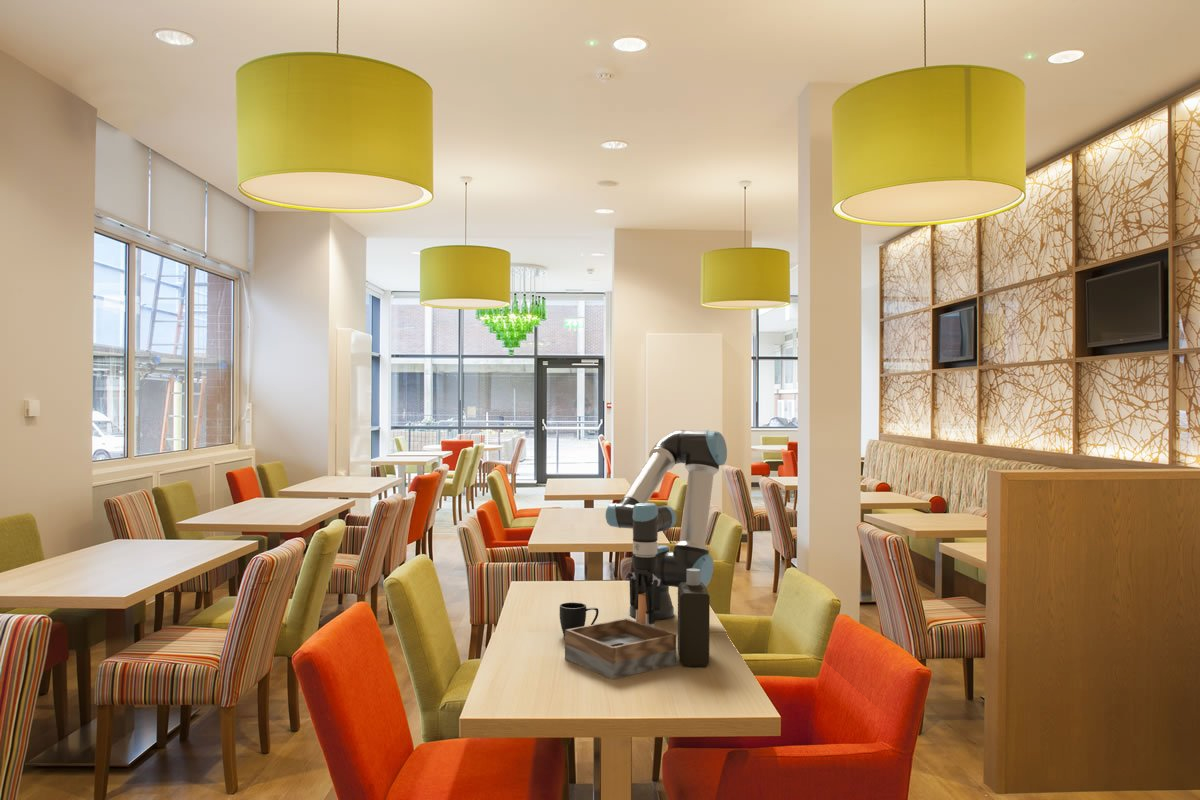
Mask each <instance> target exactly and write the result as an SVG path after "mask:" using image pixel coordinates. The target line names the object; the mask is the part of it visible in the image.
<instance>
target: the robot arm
mask: <svg viewBox="0 0 1200 800" xmlns="http://www.w3.org/2000/svg"><path fill="white" fill-rule="evenodd" d="M648 457H649V458H648V460H647V461H646V463H645V465H644V466H643V467H642V469H641V471H639V473H638V475H637V476H636V477H635V479H634V481H633V483H631V485H630V486H629V488H628V490H627V491H626V492H625V494H624V496H623V497H622V499H621V500H620V501H619V503H618V502H615V503H610V504H608V505H607V508H606V511H605V520H606V524H607V525H608V526H610V527H613V528H619V529H630V530H631V529H632V554H633V555H632V568H633V569H634V572H629V573H628V575H627V577H628V579H629V580H628V581H629V605H630V606H629V615H630V616H631V617H633V618H634V619H635V621H636V622H638V594H642V593H645V595H646V603H647V612H646V625H648V626H651V627H654V628H655V623H656V620H665V619H666V620H667V619H670V618H672V617H674V615H675V613H674V612H675V609H674V606H673V601H672V598H671V594H670V587H673V588H678V585H679V584H680V583H681V582H687V569H690V568H691V569H700V582H702V583H703V584H704V585H705V586H706V587H707V586H708V585H709V583H710V582H711V580H712V576H713V572H714V567H715V566H714V558H713V557H712V556H711V555H710V554H709V553H710V552H709V549H708V547H707V546H706V539H707V532H708V531H707V530H708V522H709V515H710V507H711V499H712V490H713V483H714V482H713V481H714V476H715V475H716V474H717V473H719V470H720V466H723V465H725V464H726V461H727V457H728V449H727V443H726V440H725V438H724V436H723V434H722V433H720V432H719V431H714V430H710V429H707V430H684V429H681V430H679V429H678V430H675V431H673V432H671V433H668V434H666V435H665V436H664V437H662V438H661V439H660V440H659V441H658V442H656V443H655V444H654V446H653V447H652V448H651V450H650V452H649V455H648ZM677 464H684V468H685V469H686V470H687V471H688V474H687V482H686V483H687V484H686V489H685V497H684V506H683V513H682V520H681V527H680V528H681V529H680V536H679V541H678V542H676V543H675V544H674V546H673V547H674V548H673V551H672V550H670V546H669V545H664V544H663V545H661V544H660V545H659V542H658V537H659V535H658V533H661V532H666V531H668V530H670V529H671V528H674V526H675V525H676V523H677V518H678V517H677V513H676V511H675V509H674V508H673V507H671V506H670V505H660V506H657V505H658V504H656V503H654V502H653V503H652V502H648V501H650V499H651V497H652V495H654V492H655V491H656V489H657V488H658V486H660V485H659V484H660V483H661V482H662V479H664V477H665V475H666V474H667V472H668V471H670V470H672V469H674V467H675V465H677Z"/></svg>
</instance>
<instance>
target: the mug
mask: <svg viewBox="0 0 1200 800" xmlns="http://www.w3.org/2000/svg"><path fill="white" fill-rule="evenodd" d="M592 610H593V611H595V615H594V618H593V620H592V622H591V623H590V625H593V624H595V622H596V621H597V619H598V617H599V612H600V611H599V608H598V607H587V604H585V603H582V602H573V601H572V602H570V601H569V602H565V603H561V604H559V622H560V627H561V631H562V634H563V638H565V630H566V629H572V628H577V627H582V626H586V620H587V612H588V611H592Z"/></svg>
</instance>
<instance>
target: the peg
mask: <svg viewBox="0 0 1200 800" xmlns="http://www.w3.org/2000/svg"><path fill="white" fill-rule="evenodd" d="M646 612H647V603H646V595H645V593H642V594H638V622H639V623H642V624H645V625H646Z"/></svg>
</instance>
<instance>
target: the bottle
mask: <svg viewBox="0 0 1200 800" xmlns="http://www.w3.org/2000/svg"><path fill="white" fill-rule="evenodd" d="M710 602H711V601H710V594H709V592H708V589H707V586H705V585H704V584H703V583H702V582H700V569H691V568H690V569H687V582H681V583H680V584H679V585H678V587H677V653H678V659H679V663H680V664H681V666H682V667H683V668H684V667H685V668H707V666H708V665H709V664H710V616H711V615H710V614H711V613H710V612H711V610H710V605H711V603H710Z"/></svg>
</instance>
